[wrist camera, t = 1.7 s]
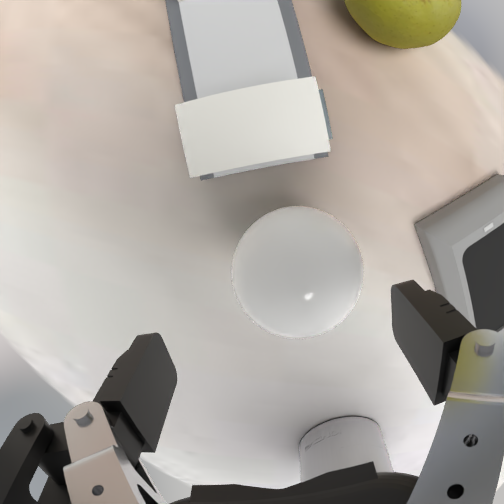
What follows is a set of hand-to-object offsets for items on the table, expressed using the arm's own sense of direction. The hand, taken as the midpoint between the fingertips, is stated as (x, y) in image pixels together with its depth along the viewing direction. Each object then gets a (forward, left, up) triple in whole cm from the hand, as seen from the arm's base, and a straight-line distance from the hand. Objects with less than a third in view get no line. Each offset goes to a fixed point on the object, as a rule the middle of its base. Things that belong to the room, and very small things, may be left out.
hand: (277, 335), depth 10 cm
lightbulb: (-1, -1, -13) cm, 13 cm away
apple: (+8, -17, -14) cm, 23 cm away
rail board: (+11, -7, -13) cm, 19 cm away
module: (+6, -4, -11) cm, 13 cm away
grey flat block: (-15, -12, -14) cm, 23 cm away
